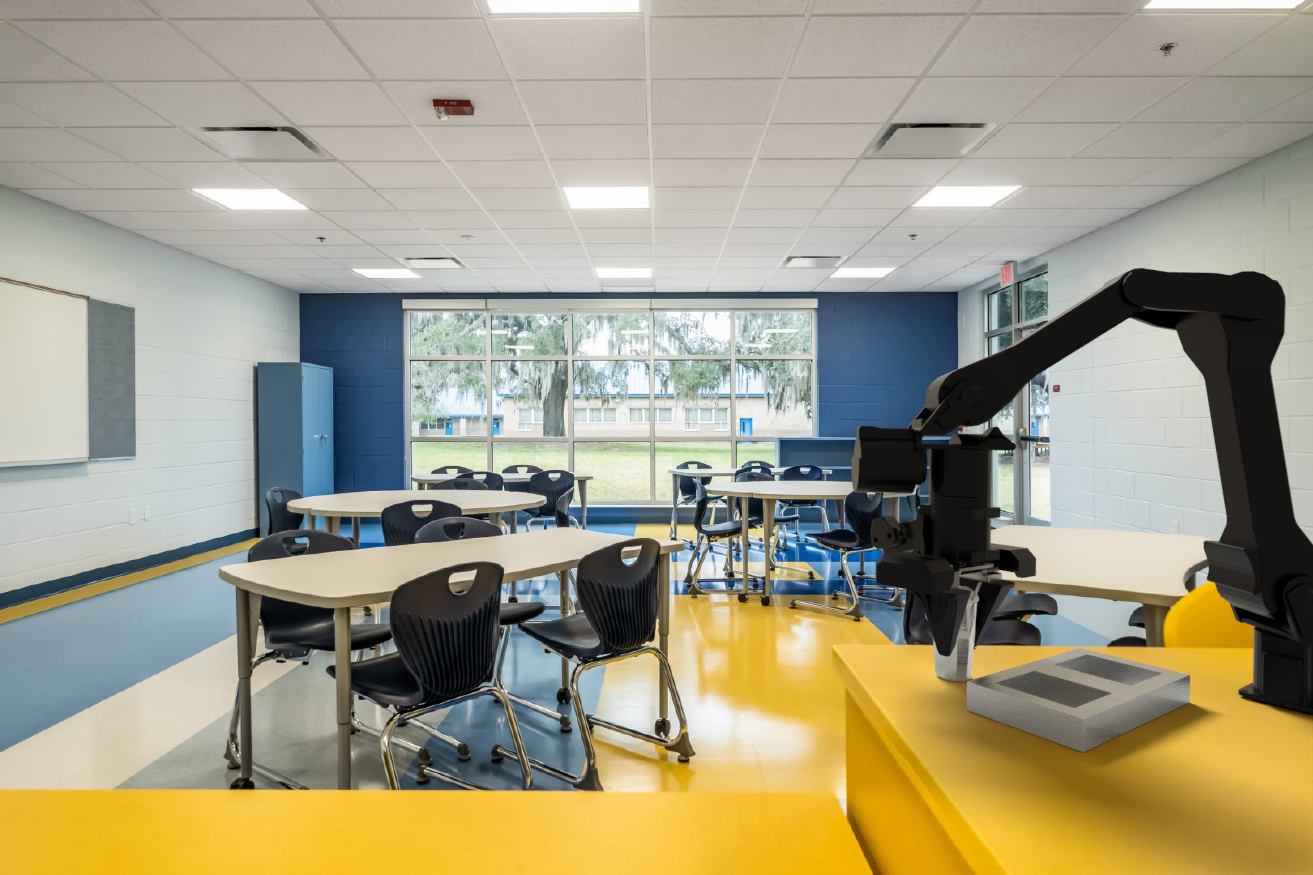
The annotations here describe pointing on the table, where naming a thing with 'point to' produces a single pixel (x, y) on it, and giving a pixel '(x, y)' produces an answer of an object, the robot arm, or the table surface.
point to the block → (1078, 696)
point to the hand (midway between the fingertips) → (956, 652)
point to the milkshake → (960, 645)
